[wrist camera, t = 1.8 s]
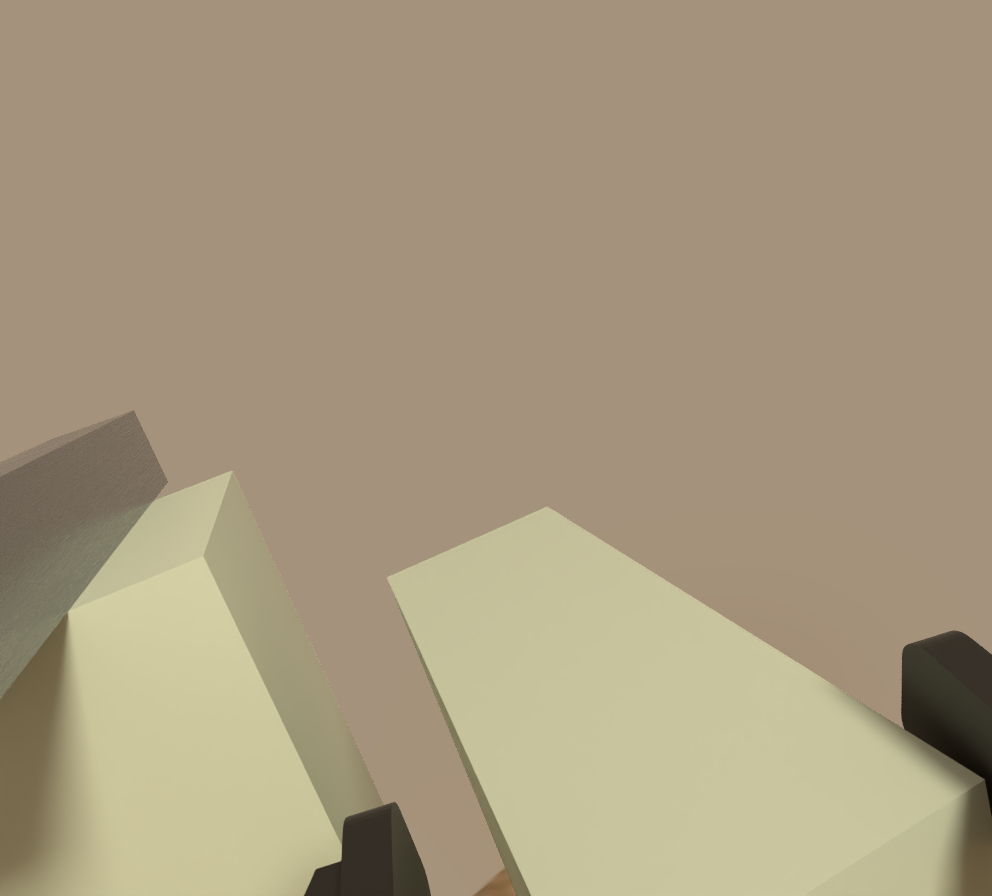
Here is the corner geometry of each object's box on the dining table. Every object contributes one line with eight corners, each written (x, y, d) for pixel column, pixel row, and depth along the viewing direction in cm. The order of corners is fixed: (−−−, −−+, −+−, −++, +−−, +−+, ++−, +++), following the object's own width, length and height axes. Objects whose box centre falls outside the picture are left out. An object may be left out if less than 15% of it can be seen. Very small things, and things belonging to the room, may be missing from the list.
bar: (-424, 981, 8) (-632, 743, 8) (88, 511, 31) (51, 439, 30) (-106, 836, 9) (-261, 606, 8) (167, 481, 32) (133, 410, 31)
